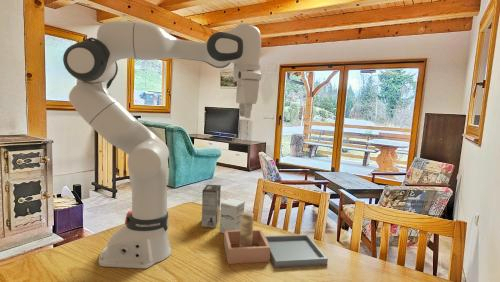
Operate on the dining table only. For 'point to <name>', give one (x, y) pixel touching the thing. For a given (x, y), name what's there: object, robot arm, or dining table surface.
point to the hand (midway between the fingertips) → (244, 117)
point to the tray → (295, 251)
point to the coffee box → (211, 205)
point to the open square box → (246, 248)
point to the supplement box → (231, 215)
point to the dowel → (246, 229)
